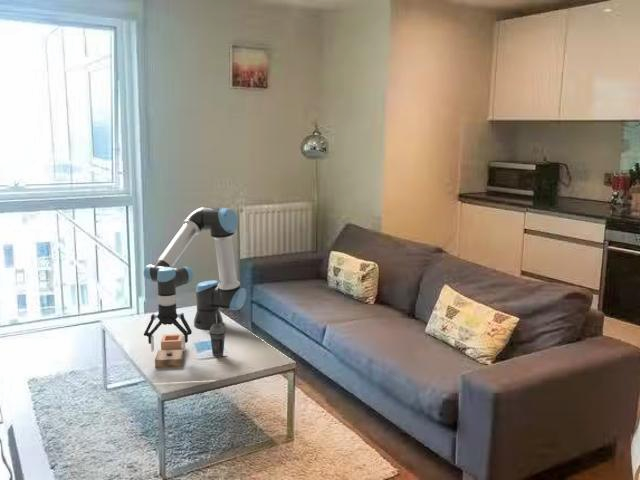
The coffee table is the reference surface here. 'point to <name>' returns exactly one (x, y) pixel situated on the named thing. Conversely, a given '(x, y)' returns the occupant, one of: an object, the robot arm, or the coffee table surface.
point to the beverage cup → (217, 339)
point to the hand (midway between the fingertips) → (168, 350)
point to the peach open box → (172, 342)
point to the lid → (169, 358)
